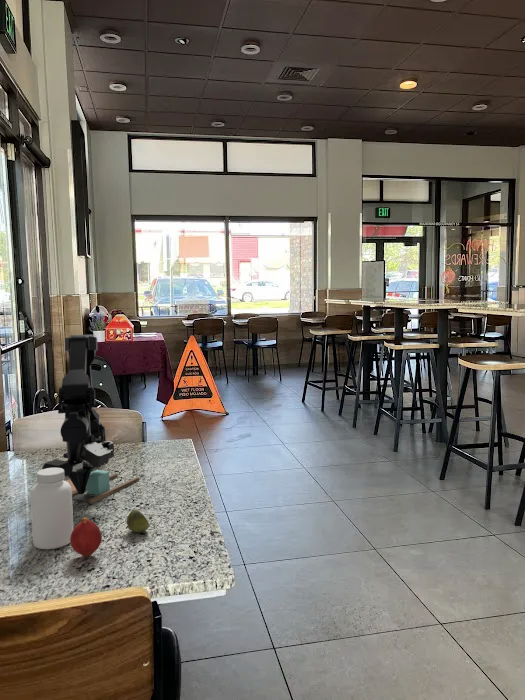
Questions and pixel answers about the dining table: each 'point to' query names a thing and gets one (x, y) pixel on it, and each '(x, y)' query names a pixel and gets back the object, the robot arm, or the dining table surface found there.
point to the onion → (86, 537)
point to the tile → (71, 485)
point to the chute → (92, 498)
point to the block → (98, 482)
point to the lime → (137, 521)
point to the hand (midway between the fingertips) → (81, 493)
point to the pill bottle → (51, 509)
